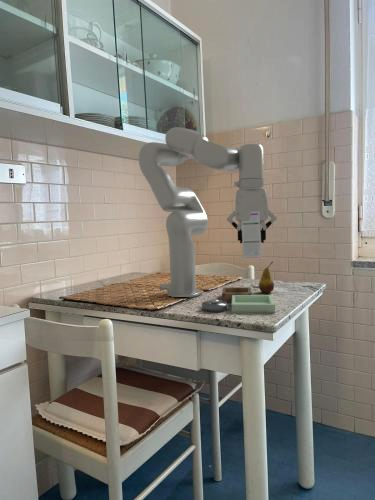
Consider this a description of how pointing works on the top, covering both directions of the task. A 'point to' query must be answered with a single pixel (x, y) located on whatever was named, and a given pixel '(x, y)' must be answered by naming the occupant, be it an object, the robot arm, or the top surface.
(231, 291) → the collar
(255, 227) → the syrup box
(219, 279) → the top surface
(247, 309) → the tray
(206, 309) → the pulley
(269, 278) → the fruit
